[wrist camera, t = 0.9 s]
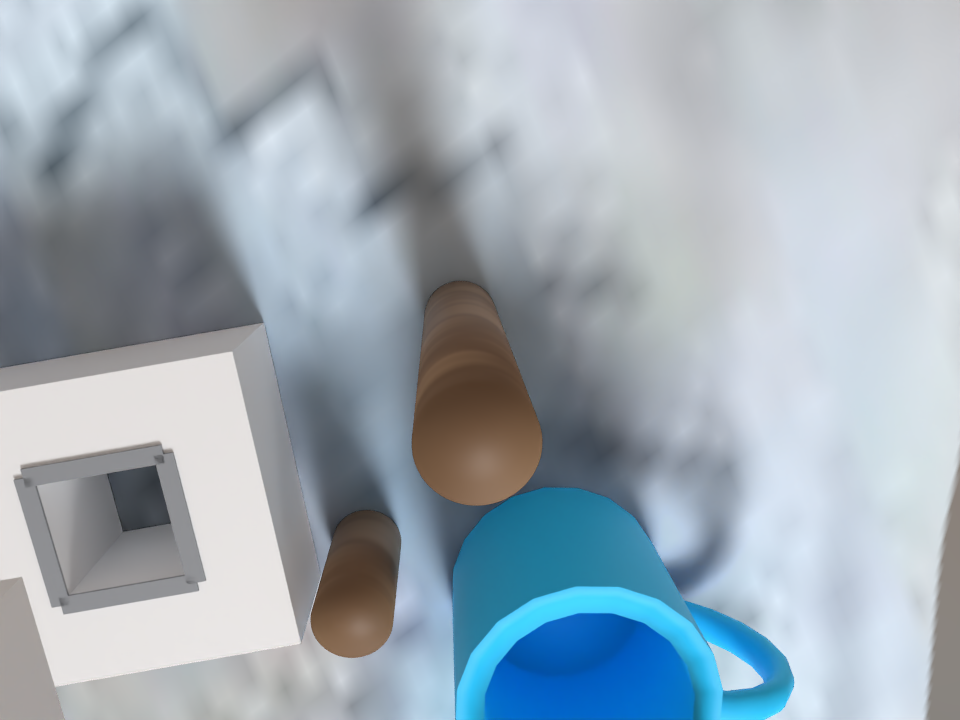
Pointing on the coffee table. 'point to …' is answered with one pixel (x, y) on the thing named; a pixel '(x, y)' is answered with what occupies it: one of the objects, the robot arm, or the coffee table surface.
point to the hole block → (188, 495)
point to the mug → (590, 623)
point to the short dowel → (358, 586)
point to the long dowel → (471, 402)
